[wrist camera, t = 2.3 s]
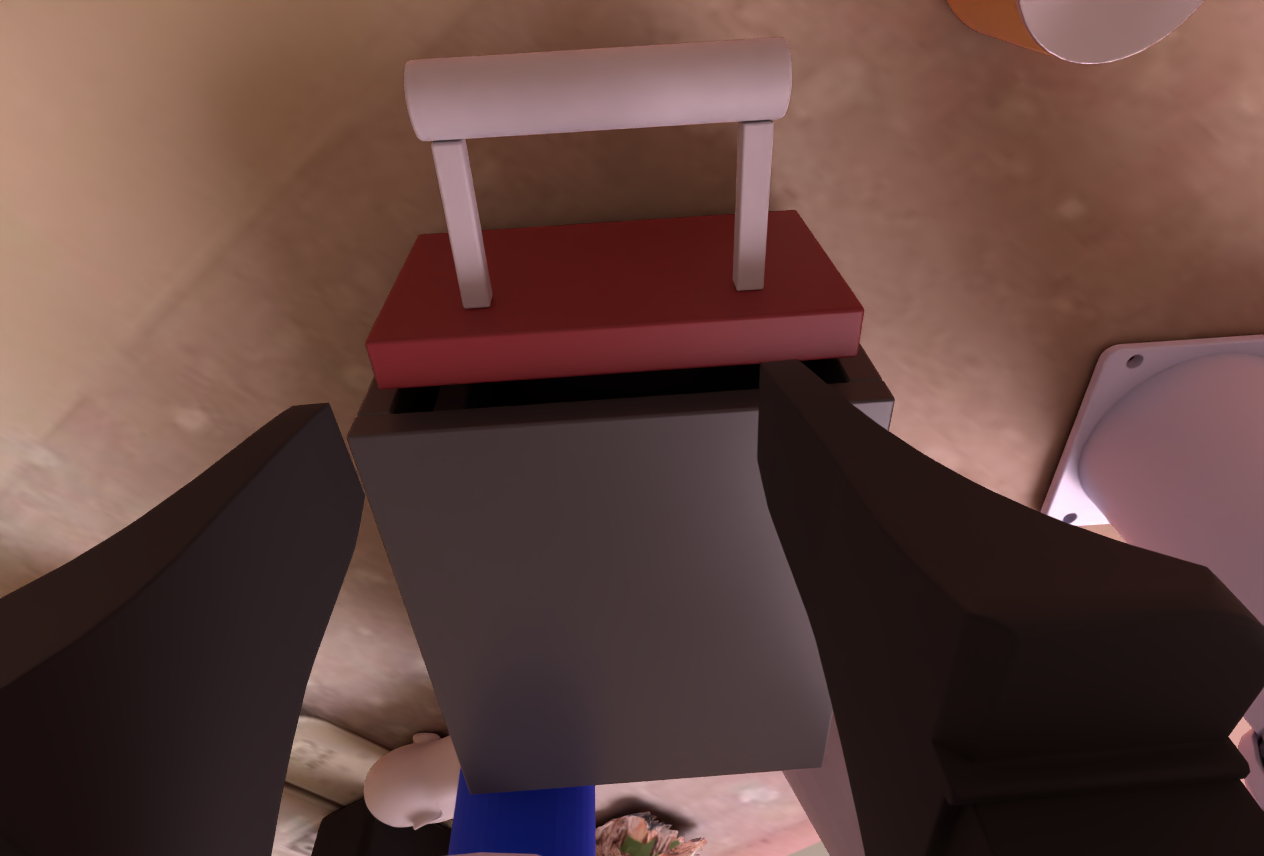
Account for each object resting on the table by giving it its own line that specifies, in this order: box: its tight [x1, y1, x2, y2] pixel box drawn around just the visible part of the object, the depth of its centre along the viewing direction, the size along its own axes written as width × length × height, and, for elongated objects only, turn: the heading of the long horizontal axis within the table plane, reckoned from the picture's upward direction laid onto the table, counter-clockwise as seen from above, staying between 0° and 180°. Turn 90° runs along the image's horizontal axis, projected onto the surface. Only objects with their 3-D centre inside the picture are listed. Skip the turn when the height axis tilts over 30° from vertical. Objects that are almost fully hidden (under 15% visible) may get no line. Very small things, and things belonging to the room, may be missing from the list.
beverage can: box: [448, 767, 596, 856], centre depth 26 cm, size 5×5×15 cm
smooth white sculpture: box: [364, 733, 461, 830], centre depth 34 cm, size 4×8×5 cm
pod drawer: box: [365, 37, 864, 411], centre depth 20 cm, size 18×10×6 cm, turn 3°
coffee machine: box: [347, 343, 895, 795], centre depth 23 cm, size 15×12×8 cm
